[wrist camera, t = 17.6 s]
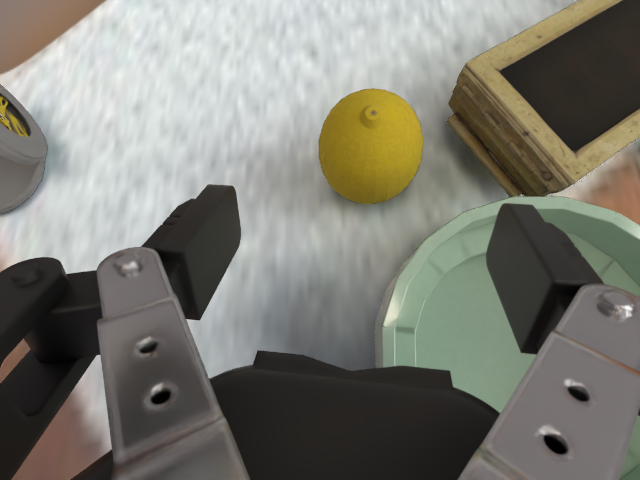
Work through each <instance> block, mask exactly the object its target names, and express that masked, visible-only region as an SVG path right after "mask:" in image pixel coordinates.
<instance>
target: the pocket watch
mask: <svg viewBox="0 0 640 480" xmlns="http://www.w3.org/2000/svg"><path fill="white" fill-rule="evenodd" d="M0 113H1V114H2V115H3V118H4V120H3V119H2V118H0V213H4V212H7V211H10V210H12V209H14V208H16V207H18V206H19V205H21V204H22V203H23V202H24V201H26V200H27V199H28V198H29V197H30V196H32V194H33V193H34V191H35V189H36V188H37V186H38V185H39V183H40V182H41V180H42V177H43V173H44V169H45V155H46V154H47V150H48V146H47V142H46V139H45V137H44V135H43V133H42V131H41V129H40V128H39V126H38V124H37V123H36V122H35V120H34V119H33V117H32V116H31V115H30V114H29V113H28V111H27V110H26V109H25V108H24V107H23V106H22V105H21V103H20V102H19V101H18V100H17V99H16V98H15V97H14V96H13V95H12V94H11V93H10V92H8V91H7V90H6V89H5V88H4V87H3V86H2V85H0ZM0 117H2V116H1V115H0ZM8 121H9V122H8Z"/></svg>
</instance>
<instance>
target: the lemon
mask: <svg viewBox="0 0 640 480" xmlns="http://www.w3.org/2000/svg"><path fill="white" fill-rule="evenodd" d="M422 150H423V136H422V131H421V126H420V122H419V120H418V118H417V116H416V114H415V112H414V110H413V109H412V108H411V107H410V105H409V104H408V103H407V102H406V101H405V100H404V99H402V98H401V97H399V96H398V95H396V94H394V93H391V92H389V91H386V90H381V89H364V90H360V91H357V92H354V93H352V94H350V95H348V96H346V97H345V98H343V99H341V100H340V101H339V102H338V103H337V104H336V105H335V106H334V107H333V109H332V110H331V111H330V113H329V115H328V116H327V118H326V120H325V122H324V124H323V127H322V130H321V134H320V138H319V161H320V164H321V168H322V172H323V174H324V176H325V178H326V179H327V181H328V183H329V184H330V186H331V187H332V188H333V189H334V190H335V191H336V192H337V193H338V194H339V195H341V196H343V197H345V198H346V199H348V200H350V201H353V202H357V203H360V204H376V203H380V202H385V201H387V200H389V199H391V198H393V197H395V196H397V195H398V194H399V193H400V192H401V191H403V190H404V189H405V188H406V187H407V186H408V185H409V183H410V182H411V180H412V179H413V178H414V176H415V175H416V173H417V170H418V167H419V165H420V162H421V159H422Z"/></svg>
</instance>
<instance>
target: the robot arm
mask: <svg viewBox="0 0 640 480" xmlns="http://www.w3.org/2000/svg"><path fill="white" fill-rule="evenodd" d="M240 239H241V227H240V219H239V212H238V204H237V197H236V191H235V188H234V187H233V186H227V185H210V184H209V185H207V186H206V187H205V189H204V190H203V191H202V192H201V193H200V195H199V196H198V197H197V198H196V199H190V200H188V201H186V202H185V203H183V204H181V205H179V206H178V207H177V208H176V209H175V210H174V211H173V212H172V213H171V215H170V217H168V218H167V219H166V220H165V221H164V222H163V225H161V226H160V227H159V228H158V229H157V230H156V231H155V232H154V233H153V234H152V235H151V237H150V238H149V239H148V240H147V241H146V242H145V243H144V244H143V245H142V247H134V248H128V249H124V250H121V251H118V252H116V253H113V254H111V255H110V256H108V257H107V258H105V259H104V260H103V261H102V262H101V263H100V264H99V266H98V268H97V270H96V271H87V272H79V273H71V274H66V272H65V270H64V268H63V266H62V264H61V262H60V261H59V260H57V259H54V258H48V257H41V258H34V259H29V260H25V261H22V262H19V263H17V264H14V265H12V266H10V267H8V268H7V269H5V270H3V271H2V272H0V366H1V364H2V362H3V361H4V359H5V358H6V357H7V355H8V354H9V353H10V352H11V351H12V350H13V349H14V348H15V347H16V346H17V345H18V344H19V342H20V341H21V340H22V339H23V338H24V339H25V341H26V343H27V344H28V346H29V347H30V349H31V350H30V351H29V352H28V353H27V354H26V355H25V356H24V358H23V359H22V360H21V361H20V362H19V363H18V364H17V366H16V367H15V368H14V369H13V370H12V371H11V372H10V374H9V375H8V376H7V377H6V378H5V379H4V380H3V382H2V383H0V480H11V479H12V478H13V476H14V475H15V473H16V472H17V471H18V469H19V468H20V466H21V465H22V463H23V462H24V460H25V459H26V457H27V456H28V455H29V453H30V452H31V450H32V449H33V447H34V446H35V444H36V443H37V441H38V440H39V438H40V437H41V436H42V434H43V433H44V431H45V430H46V428H47V427H48V425H49V424H50V422H51V421H52V419H53V418H54V417H55V415H56V414H57V412H58V411H59V409H60V408H61V406H62V405H63V403H64V402H65V400H66V399H67V398H68V396H69V395H70V393H71V392H72V390H73V389H74V387H75V386H76V384H77V383H78V381H79V380H80V379H81V377H82V376H83V374H84V373H85V371H86V370H87V368H88V367H89V365H90V364H91V362H92V361H93V360H94V358H95V357H96V355H100V354H101V362H102V370H103V378H104V386H105V395H106V403H107V411H108V419H109V427H110V436H111V444H112V450H110V451H109V452H108V453H106V454H105V455H104V456H102V457H101V458H99V459H98V460H97V461H95V462H94V463H93V464H91V465H90V466H89V467H87V468H86V469H84V470H83V471H82V472H80V473H79V474H78V475H76V476H75V477H73V478H72V479H71V480H619V477H620V474H621V470H622V467H623V464H624V460H625V457H626V453H627V450H628V446H629V443H630V440H631V436H632V433H633V429H634V426H635V423H636V419H637V416H638V415H639V416H640V298H639V297H637V296H636V295H634V294H632V293H630V292H628V291H626V290H623V289H621V288H618V287H615V286H611V285H606V284H604V282H603V281H602V280H601V278H600V277H599V276H598V275H597V273H596V272H595V271H594V269H593V268H592V267H591V265H590V264H589V263H588V262H587V260H586V259H585V258H584V257H583V256H581V255H582V254H581V252H580V251H579V250H578V249H577V247H574V243H573V242H572V241H571V239H570V238H569V237H568V236H567V234H566V233H565V232H563V231H562V230H560V229H559V228H557V227H556V226H554V225H553V224H551V223H548V222H545V221H544V219H543V218H542V217H541V215H540V214H539V212H538V211H537V210H536V208H535V207H534V206H533V205H529V204H513V203H504V204H502V206H501V207H500V209H499V212H498V215H497V218H496V221H495V225H494V228H493V231H492V234H491V238H490V241H489V244H488V247H487V253H486V264H487V268H488V271H489V273H490V276H491V279H492V281H493V284H494V286H495V289H496V291H497V294H498V296H499V299H500V301H501V304H502V306H503V309H504V311H505V314H506V317H507V319H508V322H509V324H510V327H511V329H512V332H513V334H514V337H515V339H516V342H517V344H518V347H519V349H520V352H521V353H525V354H536V357H535V358H534V360H533V362H532V363H531V365H530V367H529V368H528V370H527V371H526V373H525V375H524V376H523V378H522V380H521V381H520V383H519V384H518V386H517V388H516V389H515V391H514V393H513V394H512V396H511V397H510V399H509V401H508V402H507V404H506V405H505V407H504V409H503V410H502V412H501V413H499V412H498V411H497V410H496V409H494V408H493V407H491V406H490V405H489V404H487V403H486V402H484V401H482V400H481V399H479V398H477V397H475V396H473V395H472V394H469V393H467V392H465V391H463V390H460V389H458V388H455V387H453V384H452V378H451V373H450V371H449V370H440V369H430V368H421V367H411V366H402V365H400V366H392V367H383V368H374V369H366V370H357V371H350V370H346V369H343V368H340V367H337V366H334V365H331V364H328V363H325V362H322V361H319V360H316V359H313V358H310V357H307V356H304V355H297V354H287V353H278V352H268V351H259V350H258V351H257V354H256V357H255V360H254V363H253V365H249V366H244V367H239V368H235V369H232V370H229V371H226V372H224V373H221V374H219V375H217V376H215V377H213V378H211V379H209V378H208V375H207V373H206V370H205V367H204V365H203V362H202V360H201V357H200V355H199V352H198V349H197V347H196V344H195V342H194V339H193V337H192V334H191V331H190V329H189V326H188V324H187V321H186V319H192V320H200V319H201V317H202V315H203V313H204V311H205V310H206V308H207V306H208V304H209V302H210V300H211V298H212V296H213V294H214V293H215V291H216V289H217V287H218V285H219V283H220V281H221V279H222V277H223V276H224V274H225V272H226V270H227V268H228V266H229V264H230V262H231V261H232V259H233V257H234V255H235V253H236V251H237V249H238V247H239V244H240Z"/></svg>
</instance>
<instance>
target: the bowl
mask: <svg viewBox="0 0 640 480" xmlns="http://www.w3.org/2000/svg"><path fill="white" fill-rule="evenodd" d="M504 203H513V204H529V205H533V206H534V207H535V208H536V210H537V211H538V212H539V214H540V215H541V217H542V218H543V219H544V221H545V222H548V223H551V224H553V225H554V226H556V227H557V228H559V229H560V230H562V231H563V232H565V233H566V234H567V236H568V237H569V238H570V239H571V241H572V242H573V243H574V247H577V249H578V250H579V251H580V252H581V254H582V255H581V256H583V257H584V258H585V259H586V260H587V262H588V263H589V264H590V265H591V267H592V268H593V269H594V271H595V272H596V273H597V275H598V276H599V277H600V278H601V280H602V281H603V282H604V284H606V285H611V286H615V287H618V288H621V289H623V290H626V291H628V292H630V293H632V294H634V295H636V296H637V297H639V298H640V225H638V224H636V223H635V222H633V221H631V220H630V219H628V218H626V217H625V216H623V215H621V214H620V213H618V212H615V211H613V210H609V209H606V208H602V207H599V206H595V205H591V204H588V203H584V202H581V201H577V200H574V199H570V198H567V197H563V196H556V197H509V198H506V199H503V200H500V201H497V202H493V203H490V204H487V205H484V206H480V207H477V208H474V209H471V210H467V211H465V212H463V213H462V214H460V215H459V216H457V217H456V218H454V219H453V220H452V221H450V222H449V223H447V224H446V225H445V226H443V227H442V228H440V229H439V230H437V231H436V232H435V233H433V234H432V235H430V236H429V237H428V238H426V239H425V240H424V241H423V242H422V243H421V244H420V246H419V247H418V248H417V249H416V250H415V251H414V252H413V253H412V254H411V255H410V256H409V257H408V259H407V260H406V261H405V263H404V264H403V265H402V267H401V268H400V269H399V271H398V272H397V274H396V275H395V276H394V278H393V279H392V280H391V282H390V283H389V284H388V286H387V288H386V291H385V294H384V297H383V300H382V303H381V306H380V309H379V312H378V316H377V319H376V322H375V366H376V368H383V367H392V366H400V365H402V366H411V367H421V368H430V369H440V370H449V371H450V373H451V378H452V384H453V387H455V388H458V389H460V390H463V391H465V392H467V393H469V394H472V395H473V396H475V397H477V398H479V399H481V400H482V401H484V402H486V403H487V404H489V405H490V406H491V407H493V408H494V409H496V410H497V411H498V412H499V413H501V412H502V410H503V409H504V407H505V405H506V404H507V402H508V401H509V399H510V397H511V396H512V394H513V393H514V391H515V389H516V388H517V386H518V384H519V383H520V381H521V380H522V378H523V376H524V375H525V373H526V371H527V370H528V368H529V367H530V365H531V363H532V362H533V360H534V358H535V357H536V354H525V353H521V352H520V349H519V347H518V344H517V342H516V339H515V337H514V334H513V332H512V329H511V327H510V324H509V322H508V319H507V317H506V314H505V311H504V309H503V306H502V304H501V301H500V299H499V296H498V294H497V291H496V289H495V286H494V284H493V281H492V279H491V276H490V273H489V271H488V268H487V264H486V253H487V247H488V244H489V241H490V238H491V234H492V231H493V228H494V225H495V221H496V218H497V215H498V212H499V209H500V207H501V206H502V204H504ZM619 480H640V416H639V415H638V416H637V419H636V423H635V426H634V429H633V433H632V436H631V440H630V443H629V446H628V450H627V453H626V457H625V460H624V464H623V467H622V470H621V474H620V477H619Z"/></svg>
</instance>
